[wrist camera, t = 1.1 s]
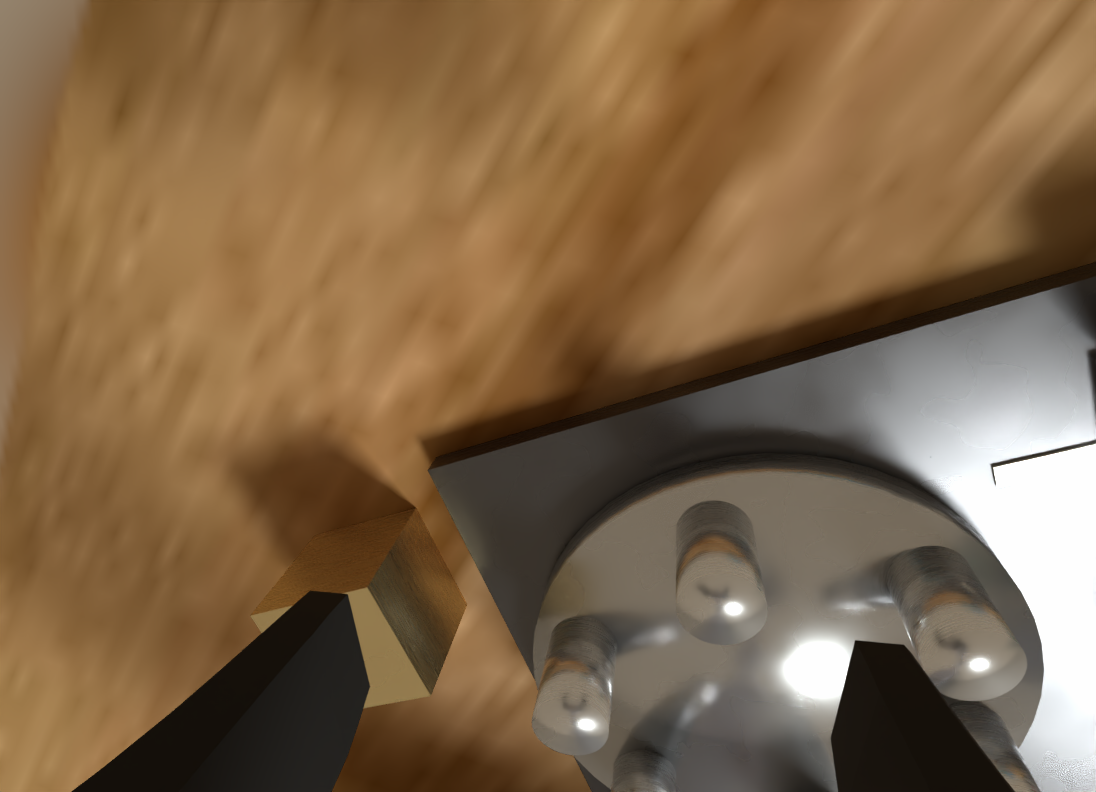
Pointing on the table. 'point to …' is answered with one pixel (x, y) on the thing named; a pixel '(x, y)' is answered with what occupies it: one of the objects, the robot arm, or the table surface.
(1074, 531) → the base plate
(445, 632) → the link block
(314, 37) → the table surface
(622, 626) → the pinned metal disc
